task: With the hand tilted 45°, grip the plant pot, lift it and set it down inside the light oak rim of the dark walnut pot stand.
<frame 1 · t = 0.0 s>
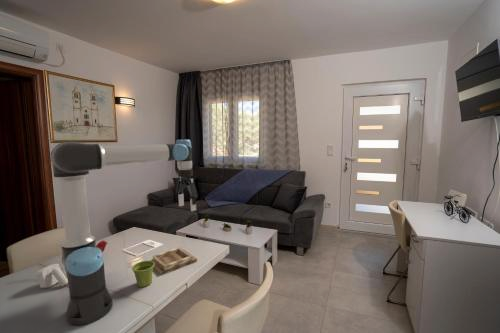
hand: (187, 208, 136), 28 cm above the table, tool pointing down, fingers open, 13 cm apart
walnut pot stand: (172, 262, 134), on the table
photo frame: (143, 248, 155), on the table
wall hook: (57, 285, 116), on the table
plant pot: (144, 284, 115), on the table
decorative bird figurine: (91, 261, 138), on the table
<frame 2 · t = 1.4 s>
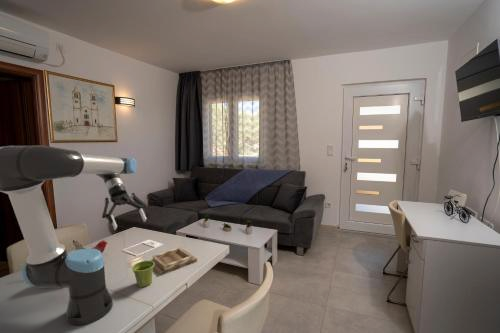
hand: (131, 224, 120), 26 cm above the table, tool tilted 45°, fingers open, 13 cm apart
nothing on the table moved.
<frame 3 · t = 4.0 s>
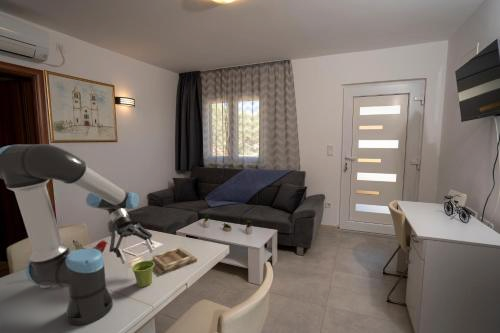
hand: (138, 256, 119), 10 cm above the table, tool tilted 45°, fingers open, 13 cm apart
nothing on the table moved.
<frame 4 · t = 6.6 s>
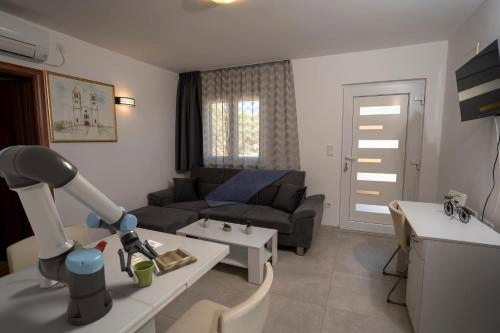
hand: (147, 277, 113), 4 cm above the table, tool tilted 45°, fingers closed on plant pot, 9 cm apart
plant pot: (144, 283, 115), on the table, touching gripper
everything else where it was.
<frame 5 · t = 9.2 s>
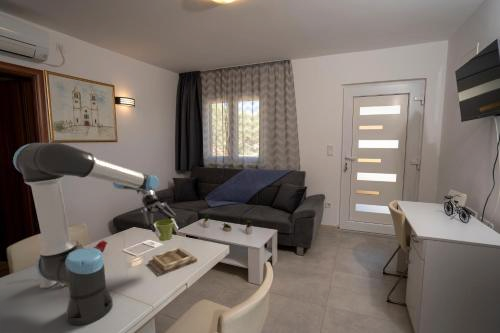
hand: (168, 233, 126), 19 cm above the table, tool tilted 45°, fingers closed on plant pot, 9 cm apart
plant pot: (165, 239, 128), point 15 cm above the table, touching gripper
everything else where it was.
when the fingers open (7 cm above the table, at t = 12.0 s): plant pot drops 1 cm, resting on walnut pot stand.
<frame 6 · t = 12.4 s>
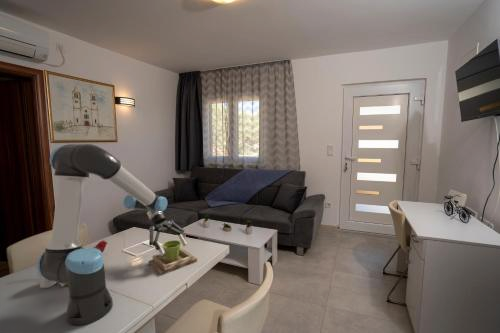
hand: (174, 249, 132), 8 cm above the table, tool tilted 45°, fingers open, 13 cm apart
plant pot: (172, 260, 134), point 1 cm above the table, touching walnut pot stand
everything else where it was.
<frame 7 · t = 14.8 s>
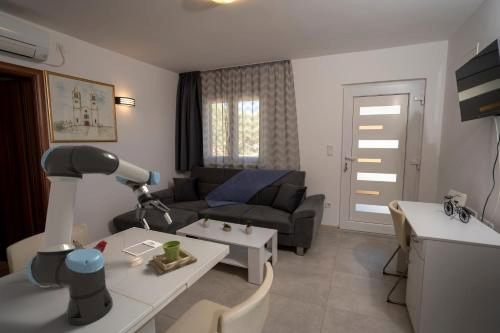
hand: (159, 226, 139), 18 cm above the table, tool tilted 45°, fingers open, 13 cm apart
nothing on the table moved.
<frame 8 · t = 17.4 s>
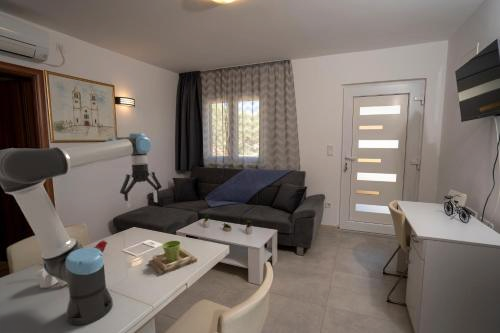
hand: (142, 204, 132), 32 cm above the table, tool pointing down, fingers open, 13 cm apart
nothing on the table moved.
at the end: plant pot inside the target area on the walnut pot stand (0.1 cm from its centre), point 1.3 cm above the walnut pot stand's base; plant pot tilted 0°; the gripper is holding nothing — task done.
